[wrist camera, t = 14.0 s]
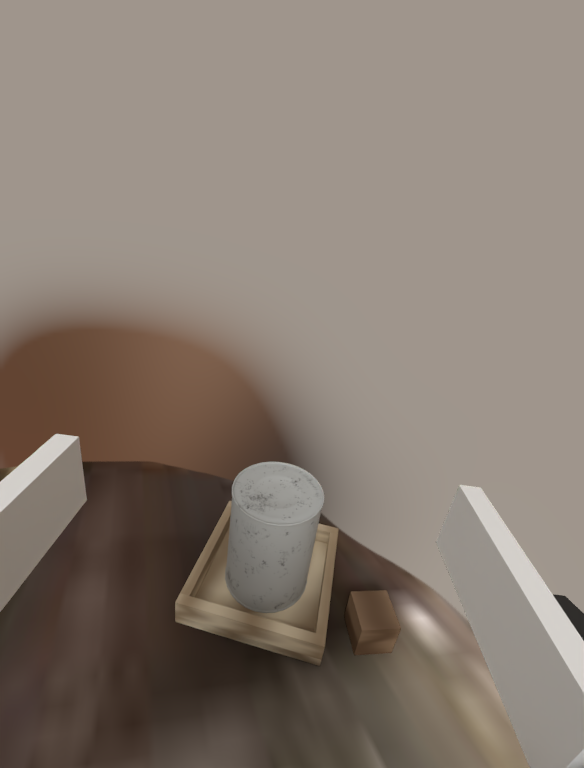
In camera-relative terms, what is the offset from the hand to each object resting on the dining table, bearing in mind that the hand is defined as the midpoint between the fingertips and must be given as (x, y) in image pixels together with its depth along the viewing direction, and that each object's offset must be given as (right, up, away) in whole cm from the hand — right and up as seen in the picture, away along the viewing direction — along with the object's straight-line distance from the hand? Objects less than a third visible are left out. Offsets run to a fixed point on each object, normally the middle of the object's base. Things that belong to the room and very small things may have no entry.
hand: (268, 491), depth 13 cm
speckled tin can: (-2, -18, +30) cm, 35 cm away
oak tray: (-2, -19, +30) cm, 36 cm away
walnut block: (+9, -23, +26) cm, 35 cm away
